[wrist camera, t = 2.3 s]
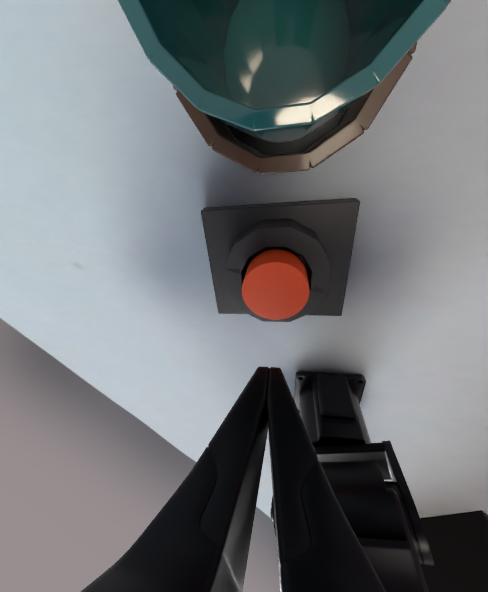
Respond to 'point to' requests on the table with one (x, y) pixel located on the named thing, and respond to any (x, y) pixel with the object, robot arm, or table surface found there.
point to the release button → (275, 285)
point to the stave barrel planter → (346, 132)
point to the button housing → (286, 236)
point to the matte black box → (457, 553)
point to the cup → (277, 55)
